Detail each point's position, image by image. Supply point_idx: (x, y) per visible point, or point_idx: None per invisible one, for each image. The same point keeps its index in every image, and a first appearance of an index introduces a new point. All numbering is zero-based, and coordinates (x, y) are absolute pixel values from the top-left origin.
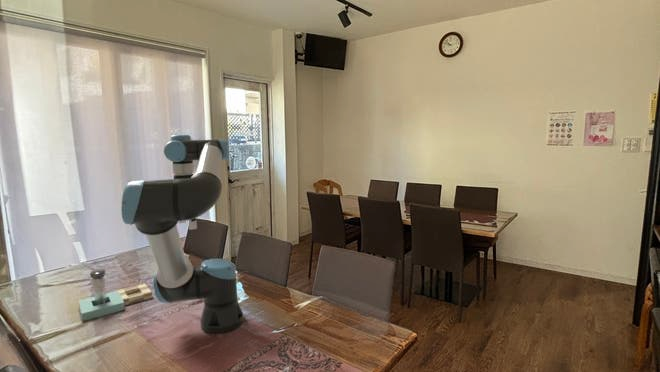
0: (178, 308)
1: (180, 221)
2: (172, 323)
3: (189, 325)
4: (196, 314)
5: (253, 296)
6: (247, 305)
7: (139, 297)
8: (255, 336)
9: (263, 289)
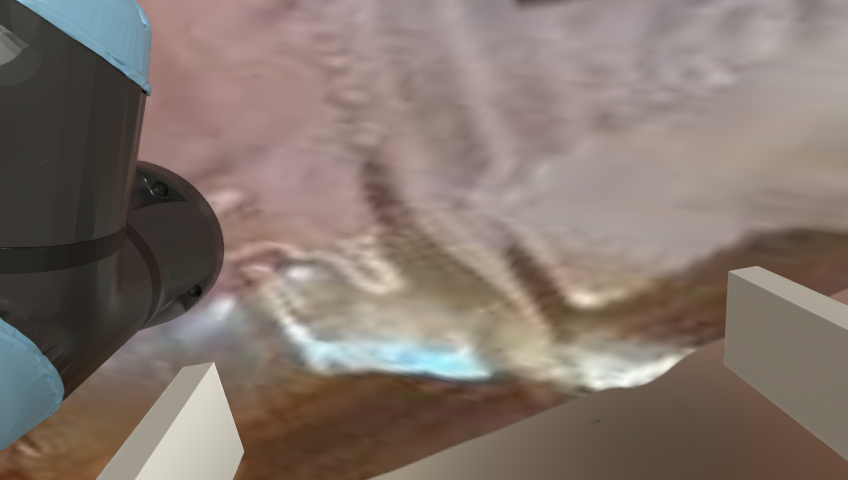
0: (357, 100)
1: (751, 299)
2: (220, 56)
3: (170, 120)
4: (259, 162)
5: (315, 388)
6: (246, 351)
7: None
8: None
9: (359, 433)
